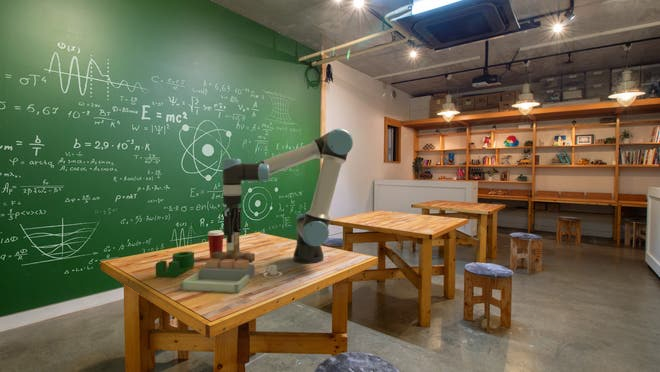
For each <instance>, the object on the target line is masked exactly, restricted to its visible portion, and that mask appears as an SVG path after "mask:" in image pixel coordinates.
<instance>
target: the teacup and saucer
mask: <svg viewBox="0 0 660 372" xmlns="http://www.w3.org/2000/svg"><path fill="white" fill-rule="evenodd" d="M268 267H269V268H268V269H267V272H265V273H263V277H265V278H271V279H272V278H273V279H274V278H278V277H281V276H282V275H283V273H282V272H281V271H278V270H277V269H278V268H277V267H278V265H276V264H272V265H269V266H268ZM277 273H278V275H277ZM268 274H270V276H268Z"/></svg>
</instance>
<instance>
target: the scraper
mask: <svg viewBox="0 0 660 372" xmlns="http://www.w3.org/2000/svg"><path fill="white" fill-rule="evenodd" d="M233 235H234V250H227V249H226V251H222V252H215V253H213V254H211V256H212V258H213V259H222V261H223V260H224V259H235V262H236V261H237V260H249V264H250V263H253V262H255V260H256V259H255V258H256V257H255V256H256V255H255V254H256V253H255V252H254V253H252V252H240V232H233ZM225 237H226V238H225V239H226V242H225V243H226V245H225V246H227V235H225Z"/></svg>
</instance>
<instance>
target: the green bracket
mask: <svg viewBox="0 0 660 372" xmlns="http://www.w3.org/2000/svg"><path fill="white" fill-rule="evenodd" d="M171 257H172V261H169V262H168V266H167V260H159V261H157V262H156V263H155V277H156V278H179V277H180V276H182V275H183V274H184V273H186V272H188V271H190V270H191V269H194V268H195V252H193V251H180V252H175V253H172V256H171Z"/></svg>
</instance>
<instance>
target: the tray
mask: <svg viewBox="0 0 660 372" xmlns="http://www.w3.org/2000/svg"><path fill="white" fill-rule="evenodd" d="M249 283H250V280H249V275H246V276H244V277H243V278H242V279H241V280H240V281H232V280H211V279H199V272H195V273H193V274H191V275H190V276H189V277H187V278H185V279H184V280H183V279H182V280H181V281H180V282H179V285H180V287H179V289H180V291H188V292H189V291H191V292H192V291H193V292H194V291H195V292H210V293H211V292H214V293H226V294H227V293H230V294H239V293H240V292H241V291H242V290H243V289H244V288H245V287H247V285H249Z"/></svg>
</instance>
